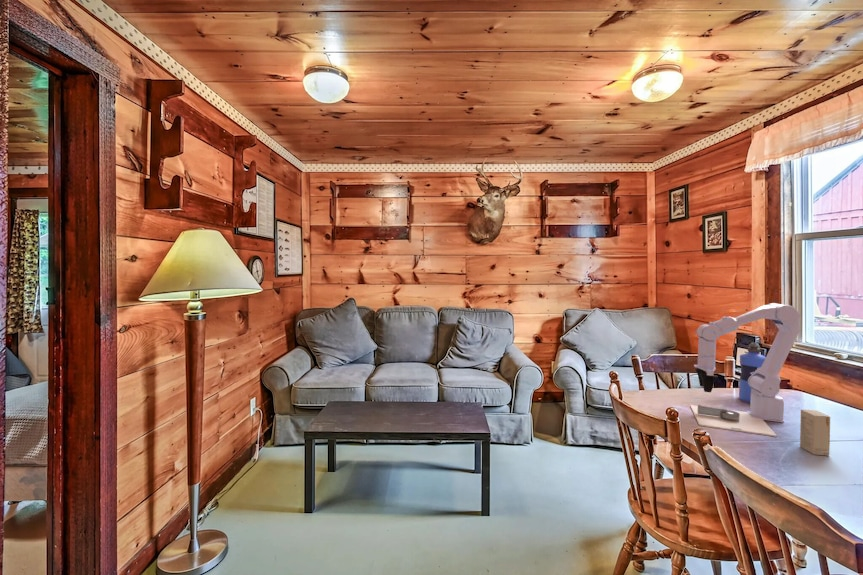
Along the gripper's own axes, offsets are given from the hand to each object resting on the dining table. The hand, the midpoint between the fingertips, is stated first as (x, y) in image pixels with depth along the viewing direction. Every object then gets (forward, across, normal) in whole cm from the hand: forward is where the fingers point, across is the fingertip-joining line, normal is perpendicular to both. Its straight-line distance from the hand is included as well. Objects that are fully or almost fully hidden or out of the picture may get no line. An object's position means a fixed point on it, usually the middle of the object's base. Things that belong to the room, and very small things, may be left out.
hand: (705, 389), depth 156 cm
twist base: (+9, +5, +7) cm, 13 cm away
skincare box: (+10, +25, +24) cm, 36 cm away
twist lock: (+9, +5, +3) cm, 11 cm away
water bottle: (+10, -25, +22) cm, 35 cm away
